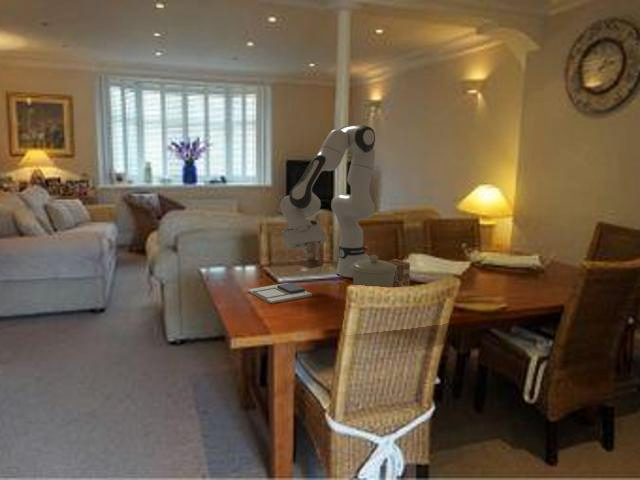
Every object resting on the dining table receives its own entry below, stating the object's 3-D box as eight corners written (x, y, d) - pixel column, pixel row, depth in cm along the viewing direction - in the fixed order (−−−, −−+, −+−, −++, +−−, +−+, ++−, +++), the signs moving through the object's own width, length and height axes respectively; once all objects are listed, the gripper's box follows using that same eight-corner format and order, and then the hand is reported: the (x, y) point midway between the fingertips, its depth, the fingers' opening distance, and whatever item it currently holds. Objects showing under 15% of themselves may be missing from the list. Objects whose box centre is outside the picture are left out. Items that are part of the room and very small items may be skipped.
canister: (345, 311, 204) (346, 258, 200) (354, 298, 221) (356, 249, 217) (391, 316, 200) (394, 261, 196) (397, 302, 217) (400, 252, 213)
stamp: (313, 262, 238) (313, 241, 236) (322, 265, 233) (322, 243, 230) (300, 265, 234) (300, 243, 232) (309, 268, 229) (309, 245, 227)
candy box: (409, 298, 223) (410, 262, 220) (401, 299, 221) (403, 263, 218) (395, 292, 230) (396, 258, 227) (387, 294, 228) (389, 259, 225)
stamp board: (286, 285, 240) (286, 280, 239) (311, 295, 224) (312, 290, 223) (247, 291, 228) (247, 286, 228) (270, 303, 212) (270, 298, 212)
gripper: (282, 225, 229) (295, 251, 224) (320, 221, 241) (333, 245, 235) (277, 234, 234) (289, 260, 228) (315, 229, 245) (327, 253, 240)
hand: (312, 252), depth 232 cm, fingers closed on stamp, 4 cm apart
